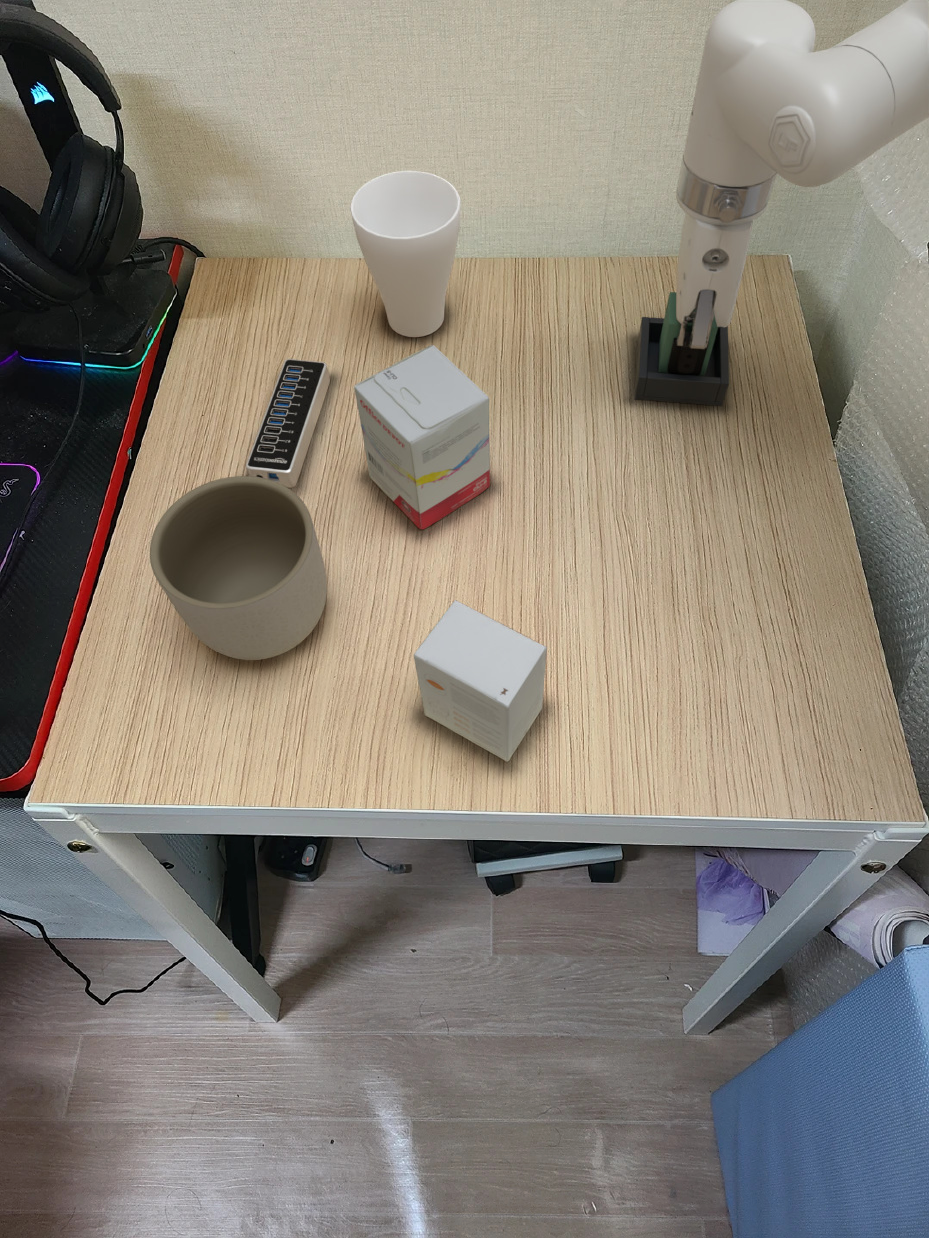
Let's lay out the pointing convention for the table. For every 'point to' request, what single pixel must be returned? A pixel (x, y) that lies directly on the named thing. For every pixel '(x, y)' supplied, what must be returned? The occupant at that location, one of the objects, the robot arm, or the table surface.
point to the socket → (676, 385)
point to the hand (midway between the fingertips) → (684, 352)
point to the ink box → (425, 435)
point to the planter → (242, 566)
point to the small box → (481, 679)
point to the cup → (409, 245)
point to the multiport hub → (289, 422)
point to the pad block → (671, 332)
